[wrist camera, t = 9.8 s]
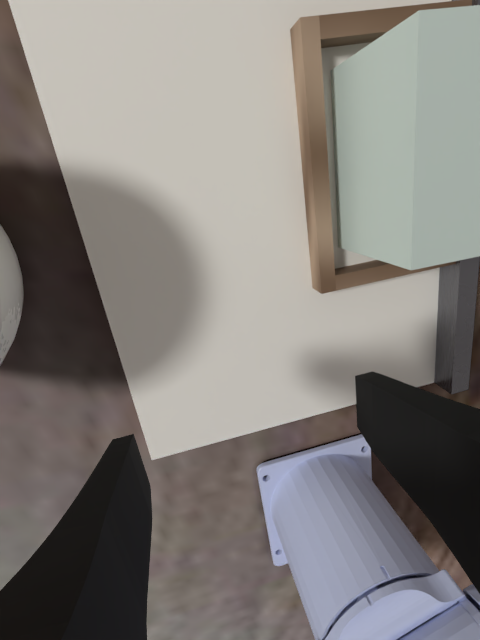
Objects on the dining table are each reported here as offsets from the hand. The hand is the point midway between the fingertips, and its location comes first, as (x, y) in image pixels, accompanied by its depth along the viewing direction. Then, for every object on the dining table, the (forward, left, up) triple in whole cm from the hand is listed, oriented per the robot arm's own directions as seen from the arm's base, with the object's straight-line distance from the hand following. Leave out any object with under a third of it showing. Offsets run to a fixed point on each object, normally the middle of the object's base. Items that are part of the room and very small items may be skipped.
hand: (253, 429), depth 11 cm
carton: (+7, -10, -9) cm, 15 cm away
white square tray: (+5, -5, -9) cm, 12 cm away
